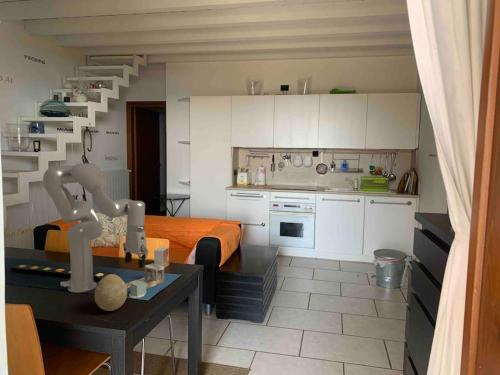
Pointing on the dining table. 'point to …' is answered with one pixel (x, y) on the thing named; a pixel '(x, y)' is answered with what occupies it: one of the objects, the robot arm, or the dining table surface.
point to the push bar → (150, 279)
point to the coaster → (135, 296)
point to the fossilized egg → (110, 292)
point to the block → (138, 288)
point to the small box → (161, 256)
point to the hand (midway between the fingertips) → (134, 265)
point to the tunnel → (153, 268)
